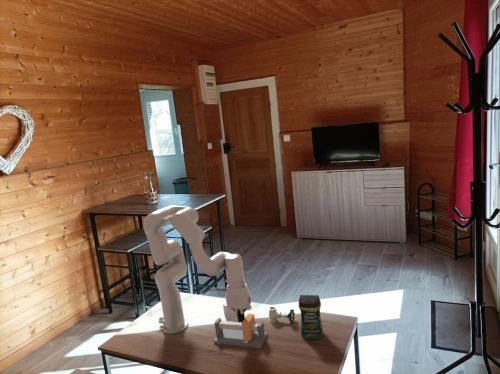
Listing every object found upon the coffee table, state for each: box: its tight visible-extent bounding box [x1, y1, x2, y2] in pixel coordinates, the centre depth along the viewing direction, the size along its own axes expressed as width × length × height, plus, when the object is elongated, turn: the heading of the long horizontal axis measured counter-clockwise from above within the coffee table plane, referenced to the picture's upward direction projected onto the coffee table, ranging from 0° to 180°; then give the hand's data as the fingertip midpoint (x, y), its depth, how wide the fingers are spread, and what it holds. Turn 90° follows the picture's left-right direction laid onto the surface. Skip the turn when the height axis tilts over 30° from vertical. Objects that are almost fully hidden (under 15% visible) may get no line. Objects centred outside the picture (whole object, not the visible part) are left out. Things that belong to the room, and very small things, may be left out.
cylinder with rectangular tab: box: [222, 294, 237, 318], centre depth 194 cm, size 9×9×12 cm
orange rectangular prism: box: [242, 313, 256, 341], centre depth 167 cm, size 3×8×8 cm, turn 160°
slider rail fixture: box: [213, 317, 268, 349], centre depth 169 cm, size 22×10×8 cm, turn 70°
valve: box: [268, 306, 296, 325], centre depth 180 cm, size 7×7×12 cm
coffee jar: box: [298, 294, 324, 340], centre depth 165 cm, size 10×8×19 cm
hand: (241, 320), depth 168 cm, fingers closed
